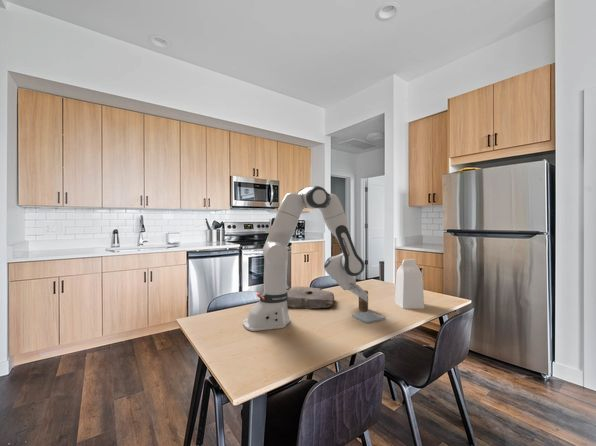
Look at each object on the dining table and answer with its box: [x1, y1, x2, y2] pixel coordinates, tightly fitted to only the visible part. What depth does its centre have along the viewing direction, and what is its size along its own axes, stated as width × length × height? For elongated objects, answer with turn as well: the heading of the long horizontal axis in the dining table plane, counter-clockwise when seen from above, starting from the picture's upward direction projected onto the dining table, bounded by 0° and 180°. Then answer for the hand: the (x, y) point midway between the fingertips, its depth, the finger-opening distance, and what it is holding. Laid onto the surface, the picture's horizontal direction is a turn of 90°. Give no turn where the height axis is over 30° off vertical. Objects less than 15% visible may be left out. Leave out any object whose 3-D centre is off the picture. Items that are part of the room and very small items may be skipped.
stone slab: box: [287, 286, 335, 310], centre depth 165 cm, size 31×29×6 cm
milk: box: [394, 259, 425, 310], centre depth 156 cm, size 12×12×26 cm
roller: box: [358, 289, 369, 312], centre depth 149 cm, size 5×5×10 cm
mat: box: [351, 310, 387, 324], centre depth 137 cm, size 12×11×1 cm
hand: (364, 298), depth 150 cm, fingers closed on roller, 5 cm apart
